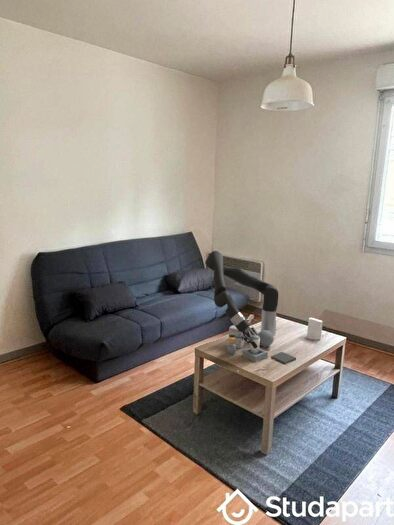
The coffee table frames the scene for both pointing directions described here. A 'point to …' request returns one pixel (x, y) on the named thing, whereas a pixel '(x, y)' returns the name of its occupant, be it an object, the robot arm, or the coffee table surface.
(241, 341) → the ink box
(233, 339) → the plunger
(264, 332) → the decorative stone
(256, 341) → the cylinder
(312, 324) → the white upright block
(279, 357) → the rubber mat
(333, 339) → the coffee table surface
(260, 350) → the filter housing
